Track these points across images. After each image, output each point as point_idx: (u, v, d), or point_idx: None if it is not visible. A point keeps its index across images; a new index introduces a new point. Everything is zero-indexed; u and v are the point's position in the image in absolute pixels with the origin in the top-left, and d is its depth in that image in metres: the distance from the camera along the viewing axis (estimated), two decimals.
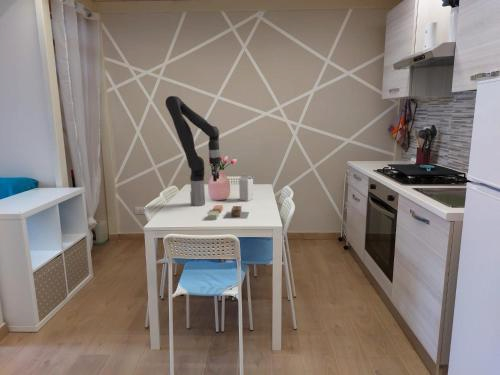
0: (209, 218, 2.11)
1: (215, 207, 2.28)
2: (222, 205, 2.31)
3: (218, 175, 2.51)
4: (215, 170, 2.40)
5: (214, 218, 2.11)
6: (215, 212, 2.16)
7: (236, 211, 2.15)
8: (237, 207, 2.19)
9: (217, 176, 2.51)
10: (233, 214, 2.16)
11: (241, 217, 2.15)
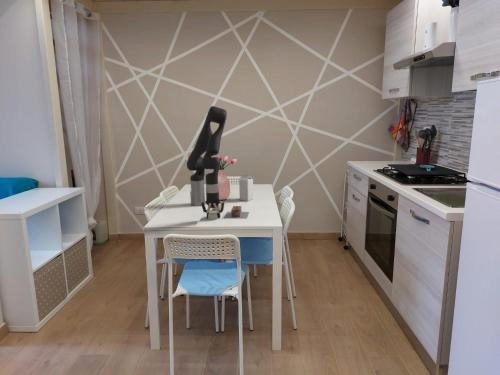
0: (209, 218, 2.11)
1: None
2: None
3: None
4: None
5: (214, 218, 2.11)
6: (215, 212, 2.16)
7: (236, 211, 2.15)
8: (237, 207, 2.19)
9: None
10: (233, 214, 2.16)
11: (241, 217, 2.15)
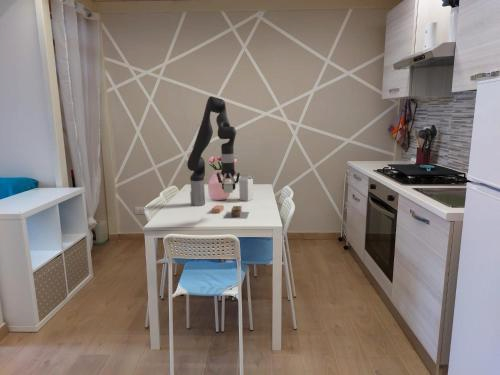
0: (225, 188, 2.10)
1: (215, 207, 2.28)
2: (223, 205, 2.31)
3: None
4: None
5: (230, 188, 2.10)
6: (230, 183, 2.15)
7: (236, 211, 2.15)
8: (237, 207, 2.19)
9: None
10: (233, 214, 2.16)
11: (241, 217, 2.15)
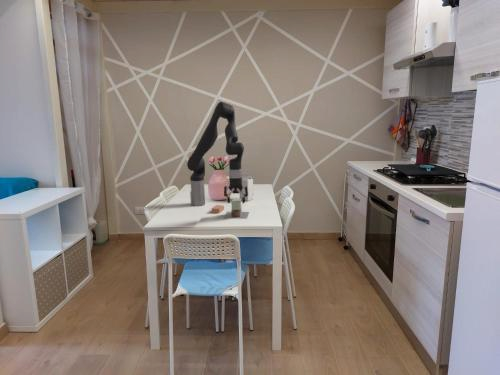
0: (233, 205, 2.15)
1: (215, 206, 2.28)
2: (223, 206, 2.31)
3: (229, 198, 2.19)
4: None
5: (238, 205, 2.14)
6: (238, 200, 2.19)
7: (236, 211, 2.15)
8: None
9: (229, 200, 2.18)
10: (233, 214, 2.16)
11: (241, 217, 2.15)
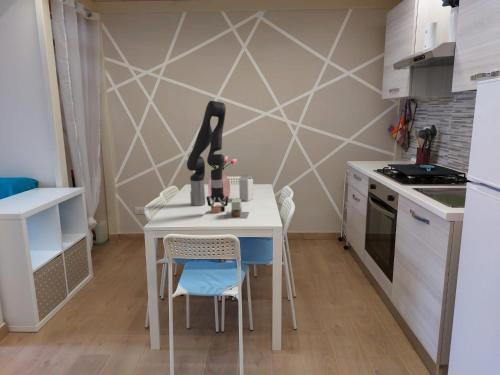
0: (233, 205, 2.15)
1: (215, 206, 2.28)
2: None
3: None
4: None
5: (238, 205, 2.14)
6: (238, 200, 2.19)
7: (236, 211, 2.15)
8: None
9: None
10: (233, 214, 2.16)
11: (241, 217, 2.15)
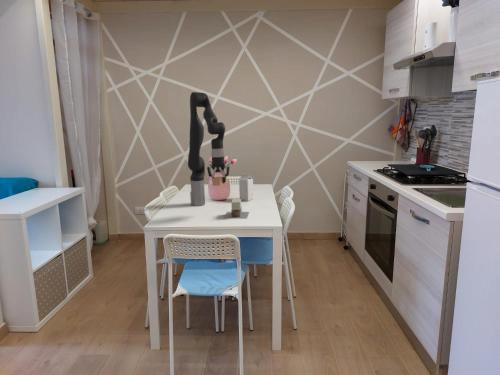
0: (233, 205, 2.15)
1: (216, 177, 2.23)
2: None
3: None
4: None
5: (238, 205, 2.14)
6: (238, 200, 2.19)
7: (236, 211, 2.15)
8: None
9: None
10: (233, 214, 2.16)
11: (241, 217, 2.15)
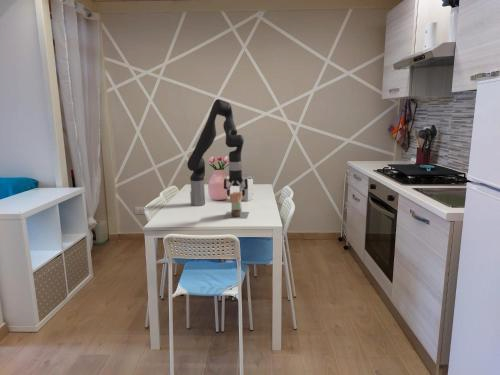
0: (233, 205, 2.15)
1: (233, 193, 2.17)
2: (241, 192, 2.20)
3: (229, 191, 2.18)
4: None
5: (238, 205, 2.14)
6: None
7: (236, 211, 2.15)
8: None
9: (229, 192, 2.17)
10: (233, 214, 2.16)
11: (241, 217, 2.15)
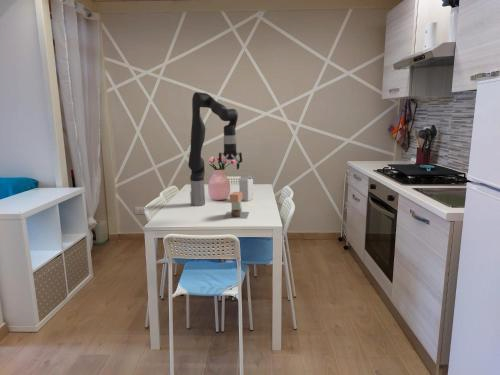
0: (233, 205, 2.15)
1: (233, 193, 2.17)
2: (241, 192, 2.20)
3: (224, 165, 2.23)
4: None
5: (238, 205, 2.14)
6: None
7: (236, 211, 2.15)
8: None
9: (224, 166, 2.23)
10: (233, 214, 2.16)
11: (241, 217, 2.15)
